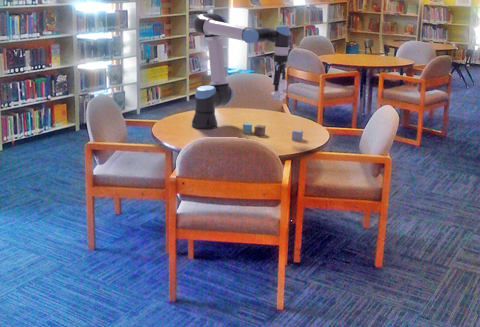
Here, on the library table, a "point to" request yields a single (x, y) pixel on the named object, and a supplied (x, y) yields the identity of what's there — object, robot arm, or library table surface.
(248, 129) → the dusty-teal block
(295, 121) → the library table surface
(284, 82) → the figurine
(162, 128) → the library table surface
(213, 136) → the library table surface
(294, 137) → the slate-grey block
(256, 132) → the walnut block
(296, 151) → the library table surface
